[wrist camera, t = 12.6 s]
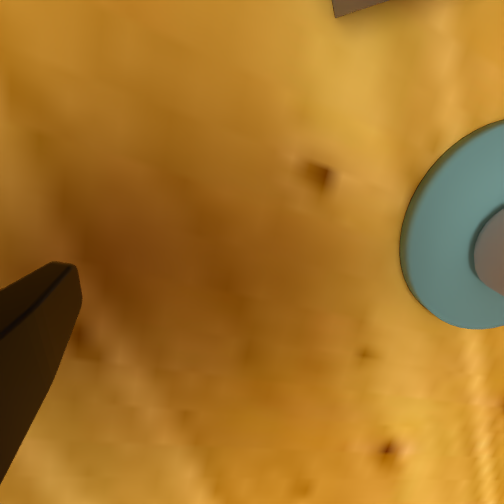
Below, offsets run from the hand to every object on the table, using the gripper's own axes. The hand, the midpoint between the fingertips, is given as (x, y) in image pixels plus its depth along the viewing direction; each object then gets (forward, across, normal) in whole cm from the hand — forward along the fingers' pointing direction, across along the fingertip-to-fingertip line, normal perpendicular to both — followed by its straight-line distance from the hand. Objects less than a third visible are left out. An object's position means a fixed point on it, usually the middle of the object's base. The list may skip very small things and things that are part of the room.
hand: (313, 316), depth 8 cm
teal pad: (+14, -11, +6) cm, 19 cm away
